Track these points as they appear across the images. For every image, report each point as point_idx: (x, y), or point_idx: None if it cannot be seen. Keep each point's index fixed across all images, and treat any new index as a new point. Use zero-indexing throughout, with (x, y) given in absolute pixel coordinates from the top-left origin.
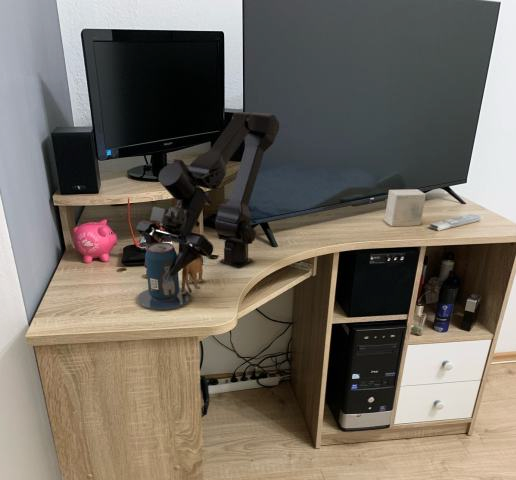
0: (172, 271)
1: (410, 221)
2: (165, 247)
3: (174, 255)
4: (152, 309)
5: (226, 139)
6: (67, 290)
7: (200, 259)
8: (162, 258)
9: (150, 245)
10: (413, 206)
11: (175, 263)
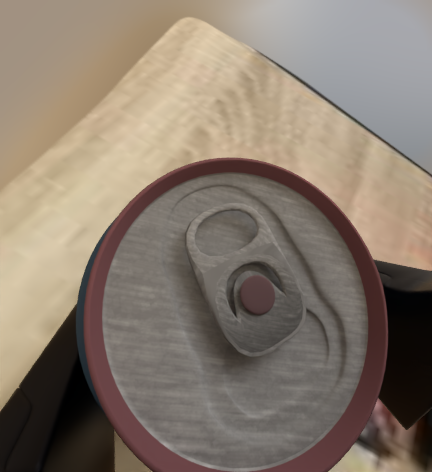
0: (75, 307)
1: None
2: (271, 371)
3: (94, 394)
4: None
5: None
6: (342, 146)
7: None
8: (103, 236)
9: (351, 240)
10: None
11: (53, 350)
